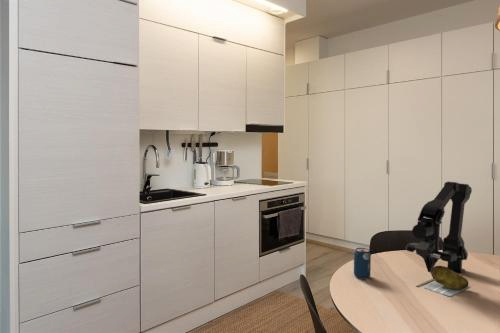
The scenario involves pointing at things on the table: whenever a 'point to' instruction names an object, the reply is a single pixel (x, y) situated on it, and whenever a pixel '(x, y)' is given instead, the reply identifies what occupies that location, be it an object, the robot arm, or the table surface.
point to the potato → (448, 278)
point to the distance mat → (443, 289)
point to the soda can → (362, 263)
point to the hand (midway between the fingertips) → (429, 271)
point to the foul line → (424, 283)
